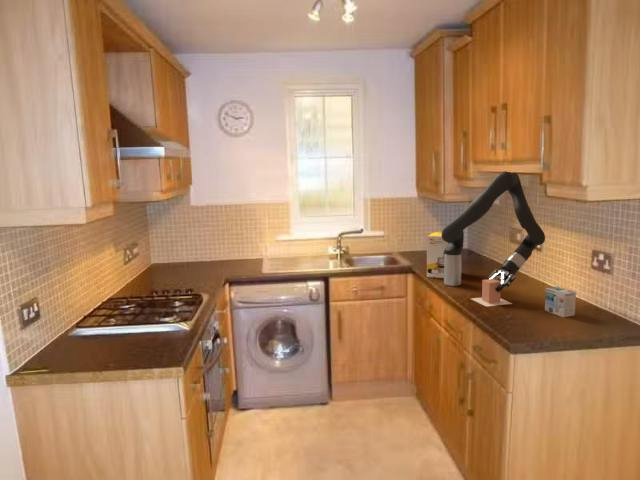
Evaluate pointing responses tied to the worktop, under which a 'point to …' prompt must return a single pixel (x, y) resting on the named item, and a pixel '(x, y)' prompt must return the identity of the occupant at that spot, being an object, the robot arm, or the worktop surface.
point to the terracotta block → (490, 291)
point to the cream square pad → (479, 300)
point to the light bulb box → (560, 301)
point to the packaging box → (435, 255)
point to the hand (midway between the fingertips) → (491, 289)
